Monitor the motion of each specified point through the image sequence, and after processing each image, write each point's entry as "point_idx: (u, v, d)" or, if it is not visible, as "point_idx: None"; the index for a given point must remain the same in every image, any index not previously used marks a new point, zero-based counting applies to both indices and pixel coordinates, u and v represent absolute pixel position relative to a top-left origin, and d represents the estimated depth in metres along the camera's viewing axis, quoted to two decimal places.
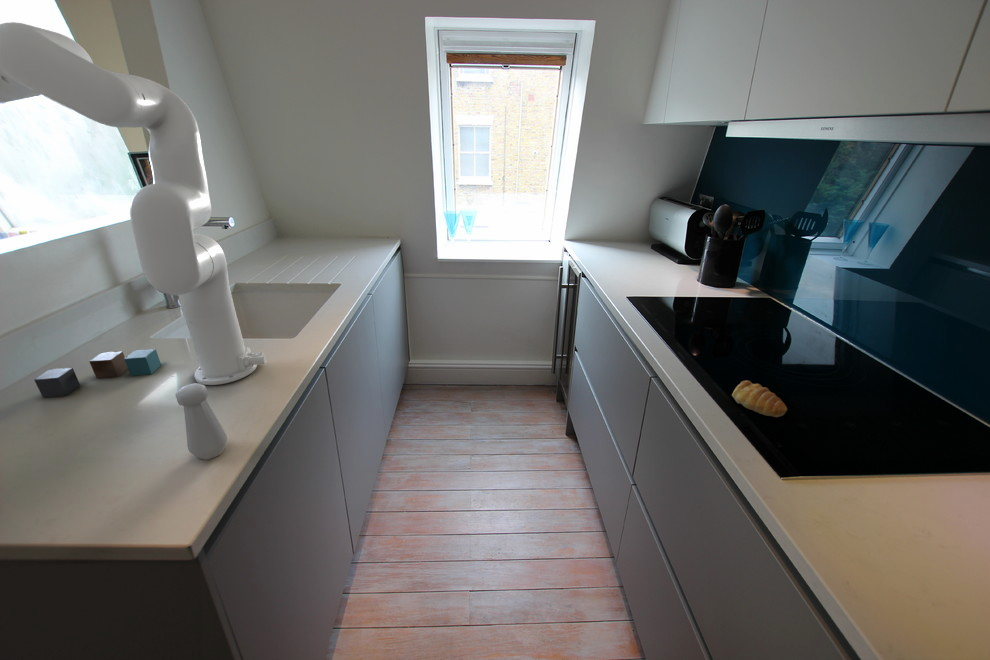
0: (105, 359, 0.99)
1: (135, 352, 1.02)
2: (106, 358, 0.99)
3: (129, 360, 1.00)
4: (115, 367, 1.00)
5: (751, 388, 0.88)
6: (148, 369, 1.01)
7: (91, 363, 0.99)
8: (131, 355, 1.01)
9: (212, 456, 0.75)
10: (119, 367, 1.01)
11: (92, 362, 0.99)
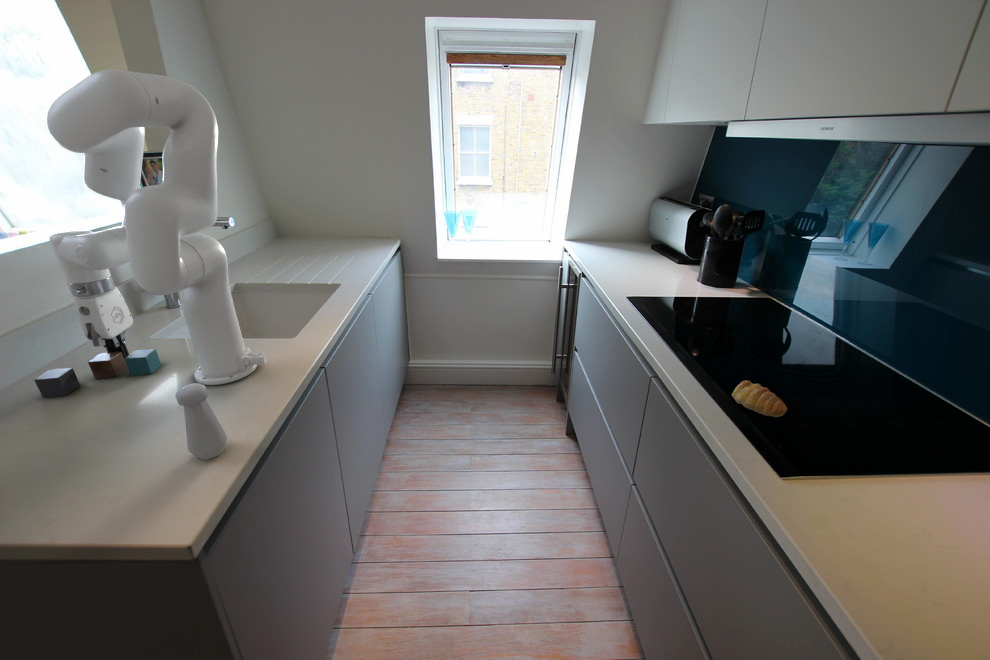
0: (104, 360, 0.99)
1: (135, 352, 1.02)
2: (105, 359, 0.99)
3: (129, 360, 1.00)
4: (114, 367, 1.00)
5: (751, 388, 0.88)
6: (148, 369, 1.01)
7: (90, 363, 0.98)
8: (131, 355, 1.01)
9: (212, 456, 0.75)
10: (117, 368, 1.01)
11: (91, 363, 0.98)
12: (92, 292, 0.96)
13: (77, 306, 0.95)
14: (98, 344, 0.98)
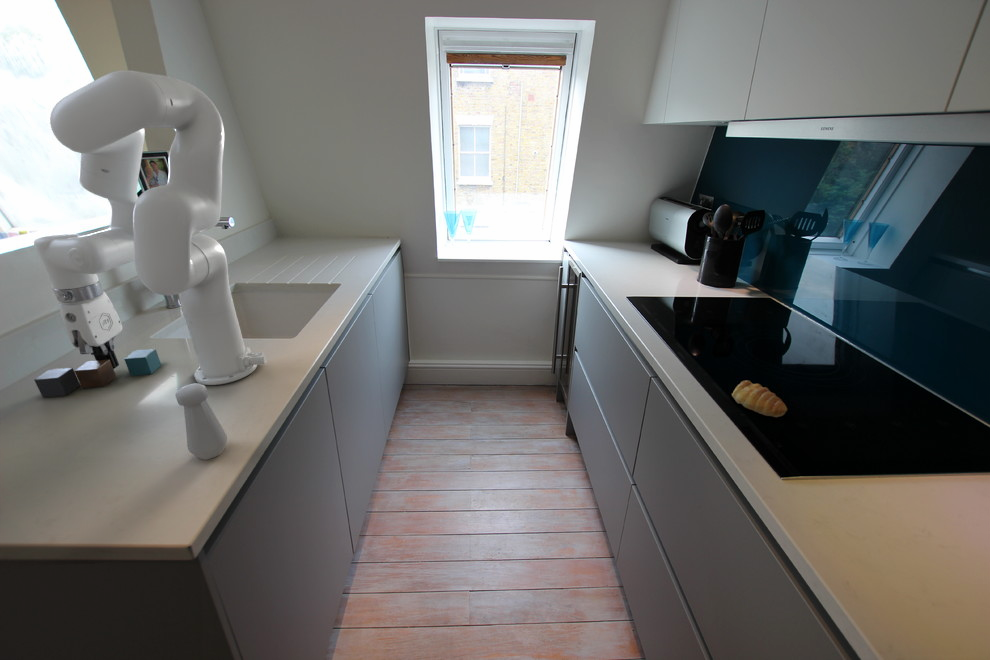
0: (91, 368, 0.95)
1: (135, 352, 1.02)
2: (92, 367, 0.96)
3: (129, 360, 1.00)
4: (102, 376, 0.96)
5: (751, 388, 0.88)
6: (148, 369, 1.01)
7: (77, 372, 0.95)
8: (131, 355, 1.01)
9: (212, 456, 0.75)
10: (106, 377, 0.98)
11: (77, 371, 0.95)
12: (79, 298, 0.92)
13: (63, 312, 0.92)
14: (85, 352, 0.95)
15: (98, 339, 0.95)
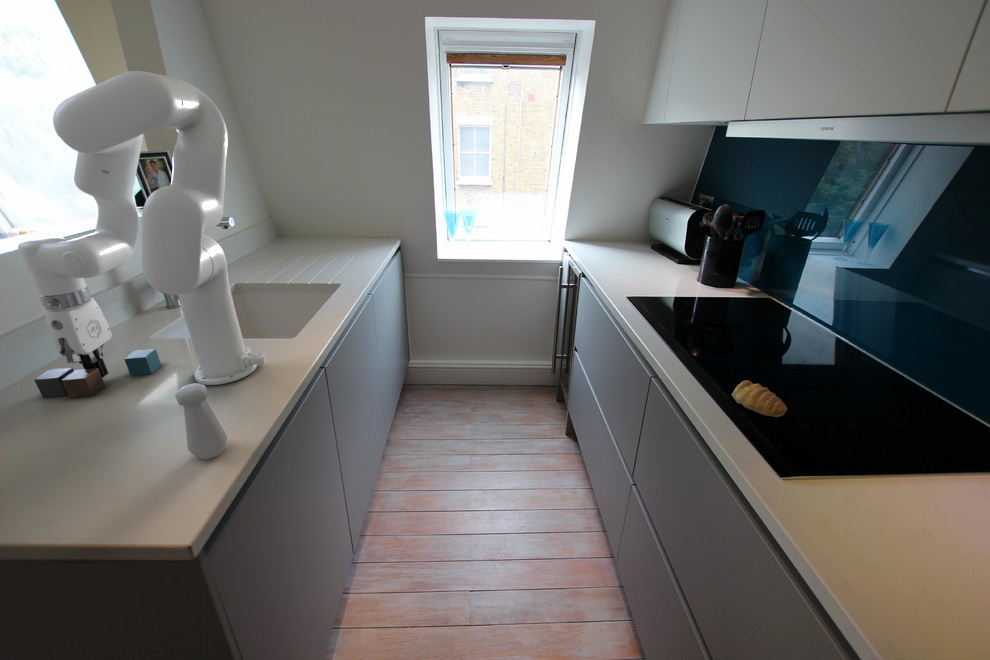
0: (79, 377, 0.92)
1: (135, 352, 1.02)
2: (80, 377, 0.92)
3: (129, 360, 1.00)
4: (90, 385, 0.93)
5: (751, 388, 0.88)
6: (148, 369, 1.01)
7: (64, 382, 0.91)
8: (131, 355, 1.01)
9: (212, 456, 0.75)
10: (94, 386, 0.94)
11: (64, 381, 0.91)
12: (65, 305, 0.88)
13: (49, 320, 0.88)
14: (72, 360, 0.91)
15: (86, 347, 0.92)
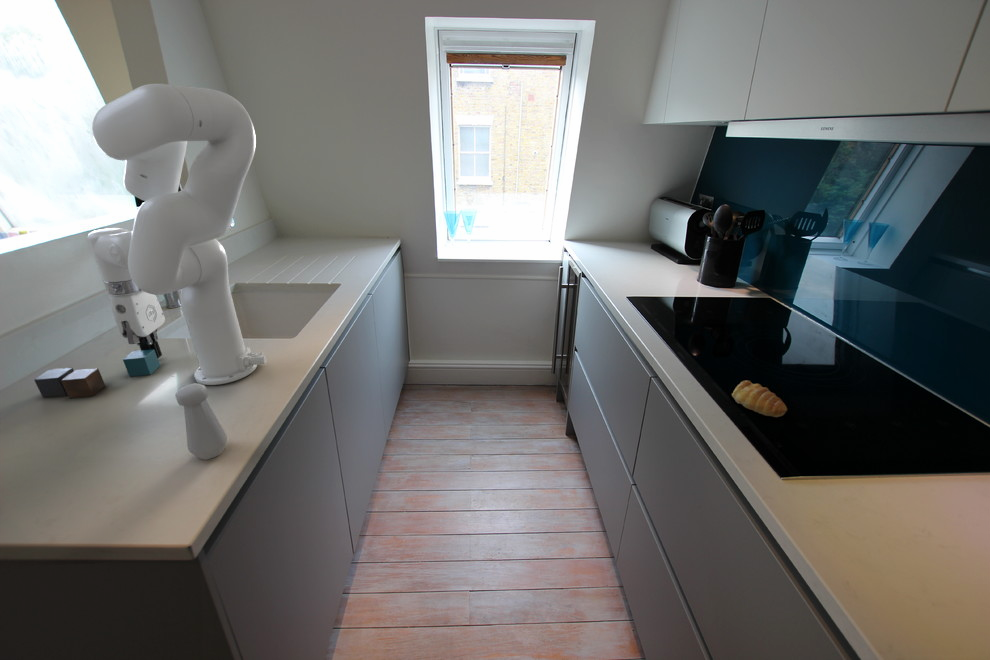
0: (78, 377, 0.92)
1: (134, 353, 1.02)
2: (80, 377, 0.92)
3: (128, 361, 0.99)
4: (90, 385, 0.93)
5: (751, 388, 0.88)
6: (147, 369, 1.01)
7: (64, 382, 0.91)
8: (130, 356, 1.01)
9: (212, 456, 0.75)
10: (94, 386, 0.94)
11: (64, 381, 0.91)
12: (128, 290, 0.97)
13: (113, 304, 0.96)
14: (133, 342, 0.99)
15: (145, 330, 1.00)
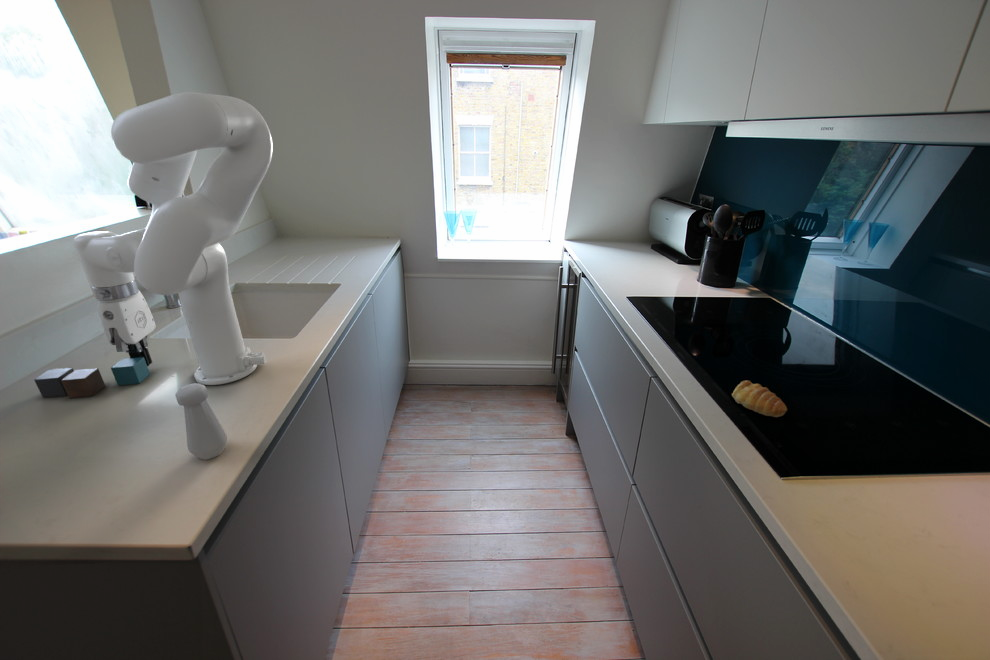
0: (78, 377, 0.92)
1: (122, 361, 0.98)
2: (80, 377, 0.92)
3: (116, 369, 0.96)
4: (90, 385, 0.93)
5: (751, 388, 0.88)
6: (136, 378, 0.97)
7: (64, 382, 0.91)
8: (118, 364, 0.97)
9: (212, 456, 0.75)
10: (94, 386, 0.94)
11: (64, 381, 0.91)
12: (116, 296, 0.93)
13: (101, 310, 0.93)
14: (121, 349, 0.96)
15: (134, 337, 0.96)
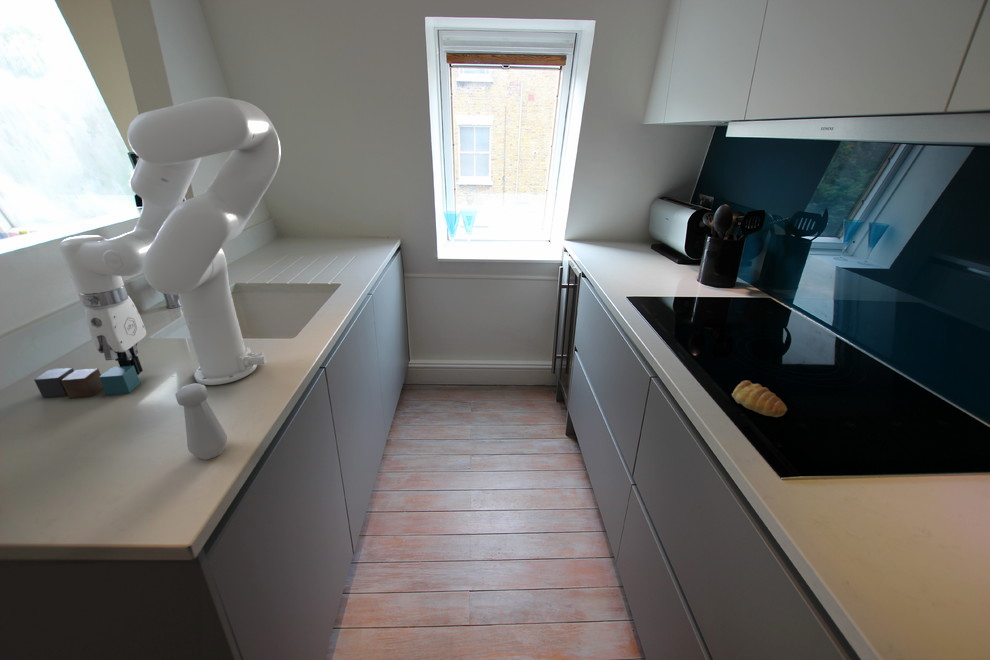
0: (78, 377, 0.92)
1: (111, 369, 0.95)
2: (80, 377, 0.92)
3: (105, 379, 0.92)
4: (90, 385, 0.93)
5: (751, 388, 0.88)
6: (126, 388, 0.94)
7: (64, 382, 0.91)
8: (107, 373, 0.93)
9: (212, 456, 0.75)
10: (94, 386, 0.94)
11: (64, 381, 0.91)
12: (104, 302, 0.89)
13: (88, 317, 0.89)
14: (110, 358, 0.92)
15: (123, 344, 0.93)
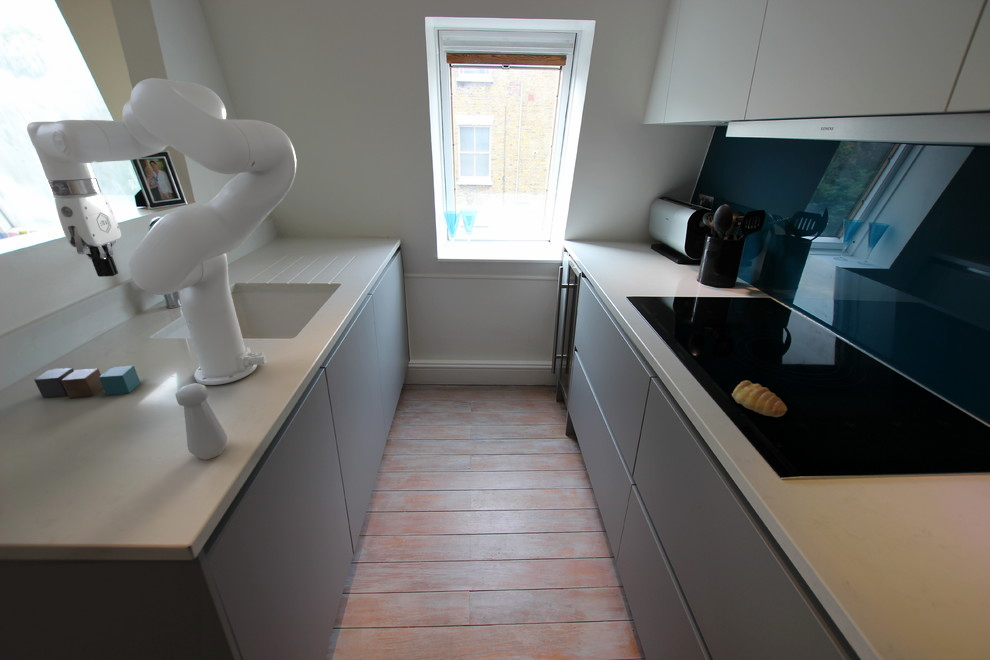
0: (78, 377, 0.92)
1: (111, 369, 0.95)
2: (80, 377, 0.92)
3: (104, 379, 0.92)
4: (90, 385, 0.93)
5: (751, 388, 0.88)
6: (126, 388, 0.94)
7: (64, 382, 0.91)
8: (107, 373, 0.93)
9: (212, 456, 0.75)
10: (94, 386, 0.94)
11: (64, 381, 0.91)
12: (75, 191, 0.88)
13: (59, 206, 0.87)
14: (82, 251, 0.90)
15: (96, 238, 0.91)
